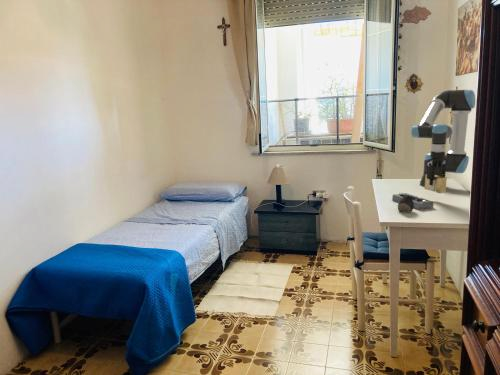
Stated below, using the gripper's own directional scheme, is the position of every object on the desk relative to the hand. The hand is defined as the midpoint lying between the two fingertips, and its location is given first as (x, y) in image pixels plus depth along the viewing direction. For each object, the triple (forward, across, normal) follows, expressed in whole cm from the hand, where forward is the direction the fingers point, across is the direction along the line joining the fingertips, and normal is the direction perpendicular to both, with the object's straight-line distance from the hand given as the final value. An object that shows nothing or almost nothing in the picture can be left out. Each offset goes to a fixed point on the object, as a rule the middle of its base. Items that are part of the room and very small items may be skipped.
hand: (434, 189), depth 228 cm
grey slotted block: (+6, -17, 0) cm, 18 cm away
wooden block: (0, 0, 0) cm, 0 cm away
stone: (+6, -31, -11) cm, 33 cm away
